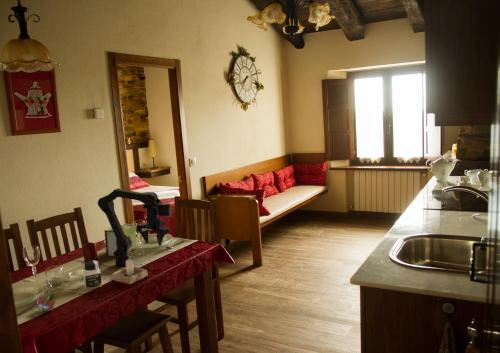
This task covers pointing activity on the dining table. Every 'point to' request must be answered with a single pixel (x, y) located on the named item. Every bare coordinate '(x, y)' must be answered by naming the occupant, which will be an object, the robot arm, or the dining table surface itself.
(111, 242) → the protein box
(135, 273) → the crate
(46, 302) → the geometric puzzle
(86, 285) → the medicine bottle
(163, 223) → the robot arm
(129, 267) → the peg
